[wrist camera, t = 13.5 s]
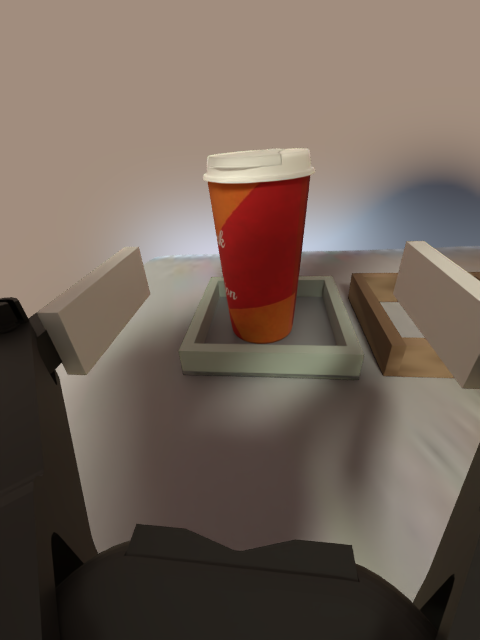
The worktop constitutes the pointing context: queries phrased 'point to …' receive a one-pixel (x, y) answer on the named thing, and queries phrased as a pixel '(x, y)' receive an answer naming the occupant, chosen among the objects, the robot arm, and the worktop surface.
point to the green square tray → (284, 355)
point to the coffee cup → (260, 235)
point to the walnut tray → (391, 329)
